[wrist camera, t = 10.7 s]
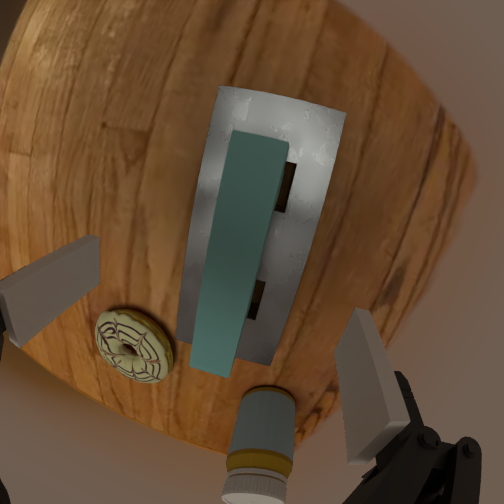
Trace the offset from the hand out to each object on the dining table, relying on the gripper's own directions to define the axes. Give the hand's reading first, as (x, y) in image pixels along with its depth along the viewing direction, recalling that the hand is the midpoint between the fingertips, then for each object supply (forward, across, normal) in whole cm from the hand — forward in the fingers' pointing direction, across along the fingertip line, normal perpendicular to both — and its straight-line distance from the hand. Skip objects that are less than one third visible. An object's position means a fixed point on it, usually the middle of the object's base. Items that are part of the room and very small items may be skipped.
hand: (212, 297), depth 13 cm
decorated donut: (+14, -11, -18) cm, 25 cm away
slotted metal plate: (+13, 0, 0) cm, 13 cm away
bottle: (+13, +7, -22) cm, 26 cm away
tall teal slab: (+13, 0, 0) cm, 13 cm away
